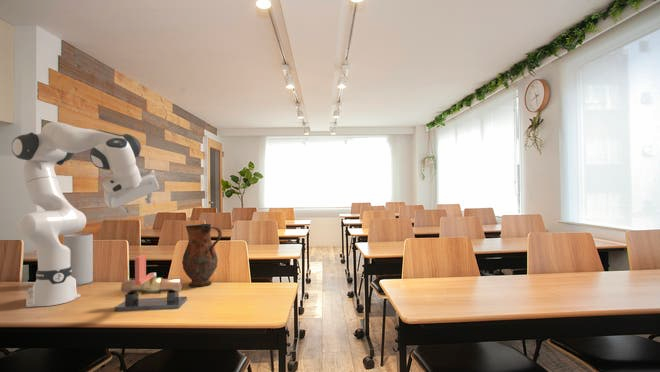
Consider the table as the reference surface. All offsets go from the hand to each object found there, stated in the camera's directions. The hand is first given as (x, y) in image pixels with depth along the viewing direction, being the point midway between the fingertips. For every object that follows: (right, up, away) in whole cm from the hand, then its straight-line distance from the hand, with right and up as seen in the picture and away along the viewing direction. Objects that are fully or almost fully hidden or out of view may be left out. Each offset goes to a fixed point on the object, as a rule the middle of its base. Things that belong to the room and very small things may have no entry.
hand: (137, 207), depth 148 cm
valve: (+7, -40, -2) cm, 41 cm away
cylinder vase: (-50, -42, +36) cm, 75 cm away
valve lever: (+8, -28, -8) cm, 30 cm away
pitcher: (+17, -41, +30) cm, 53 cm away
